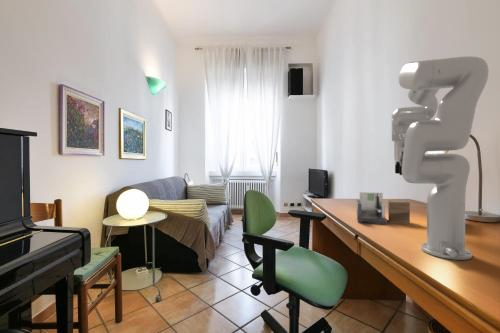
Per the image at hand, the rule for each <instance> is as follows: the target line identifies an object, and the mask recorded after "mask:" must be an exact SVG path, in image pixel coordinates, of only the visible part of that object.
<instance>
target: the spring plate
mask: <svg viewBox="0 0 500 333" xmlns="http://www.w3.org/2000/svg"><path fill="white" fill-rule="evenodd" d="M377 212H378V213H380V217H381V218H386V206H385V205H384V203H383V204H382V203H380V209H377Z"/></svg>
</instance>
